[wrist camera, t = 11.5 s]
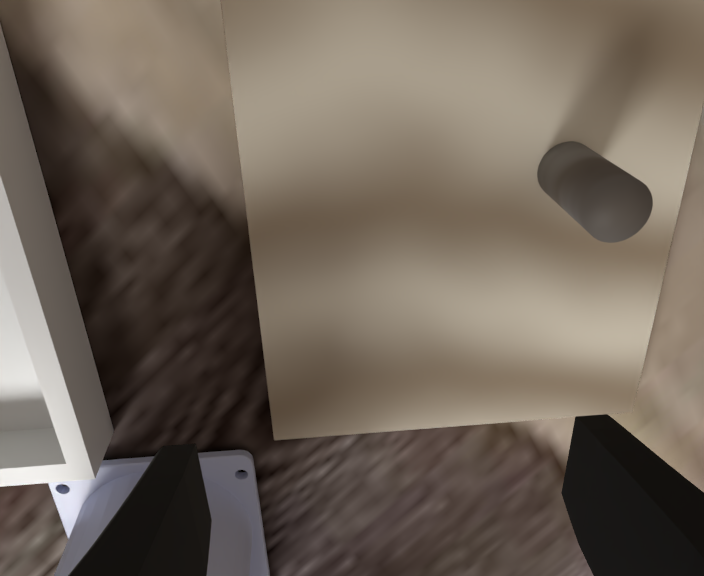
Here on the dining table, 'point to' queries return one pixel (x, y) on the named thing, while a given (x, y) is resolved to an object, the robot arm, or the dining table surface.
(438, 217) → the board
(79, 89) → the dining table surface
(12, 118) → the tray
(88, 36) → the dining table surface
